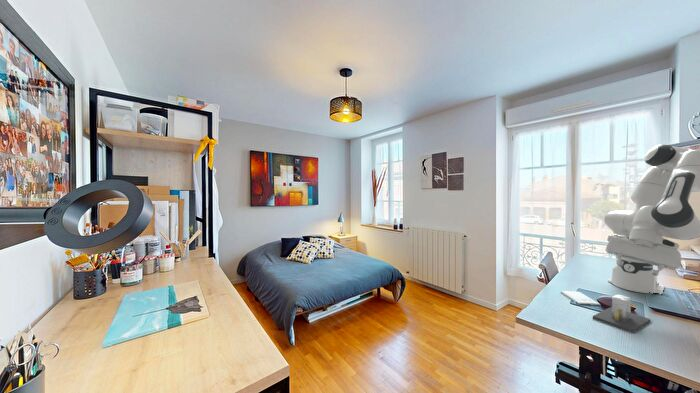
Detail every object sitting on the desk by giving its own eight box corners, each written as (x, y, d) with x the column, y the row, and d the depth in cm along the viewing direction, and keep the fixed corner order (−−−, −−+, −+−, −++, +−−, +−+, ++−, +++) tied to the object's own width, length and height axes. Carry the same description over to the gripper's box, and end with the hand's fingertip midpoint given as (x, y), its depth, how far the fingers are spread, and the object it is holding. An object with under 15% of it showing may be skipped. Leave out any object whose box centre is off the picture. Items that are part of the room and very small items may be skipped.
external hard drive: (580, 295, 120) (600, 307, 108) (560, 293, 122) (578, 305, 109) (580, 291, 120) (600, 303, 108) (560, 290, 122) (578, 302, 109)
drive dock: (610, 309, 105) (611, 298, 105) (650, 321, 95) (650, 310, 95) (592, 318, 98) (592, 307, 98) (633, 332, 88) (633, 320, 88)
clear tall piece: (617, 313, 99) (617, 294, 99) (630, 318, 96) (631, 297, 95) (612, 316, 97) (612, 296, 97) (625, 321, 94) (625, 300, 93)
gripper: (610, 229, 110) (602, 257, 106) (685, 246, 95) (679, 278, 92) (608, 235, 114) (600, 262, 110) (680, 252, 99) (673, 283, 96)
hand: (636, 269), depth 101 cm, fingers open, 8 cm apart
